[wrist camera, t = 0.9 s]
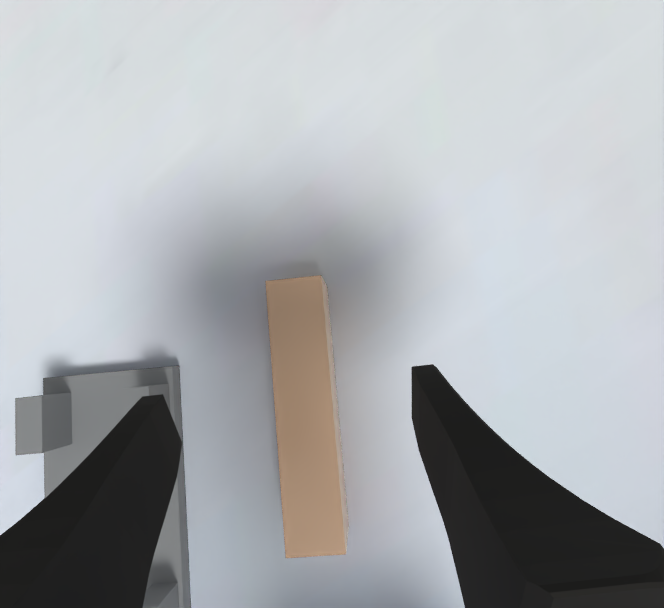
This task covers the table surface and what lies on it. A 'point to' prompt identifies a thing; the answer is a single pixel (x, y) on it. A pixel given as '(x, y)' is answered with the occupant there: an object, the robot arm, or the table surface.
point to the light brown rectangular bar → (307, 418)
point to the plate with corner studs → (86, 434)
